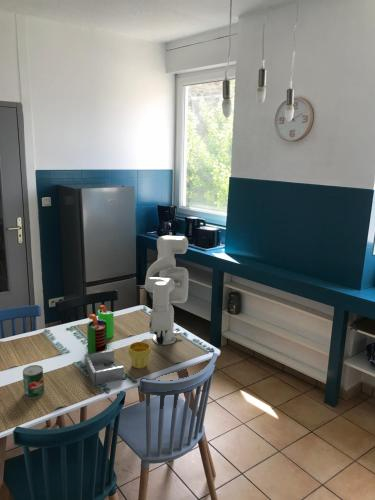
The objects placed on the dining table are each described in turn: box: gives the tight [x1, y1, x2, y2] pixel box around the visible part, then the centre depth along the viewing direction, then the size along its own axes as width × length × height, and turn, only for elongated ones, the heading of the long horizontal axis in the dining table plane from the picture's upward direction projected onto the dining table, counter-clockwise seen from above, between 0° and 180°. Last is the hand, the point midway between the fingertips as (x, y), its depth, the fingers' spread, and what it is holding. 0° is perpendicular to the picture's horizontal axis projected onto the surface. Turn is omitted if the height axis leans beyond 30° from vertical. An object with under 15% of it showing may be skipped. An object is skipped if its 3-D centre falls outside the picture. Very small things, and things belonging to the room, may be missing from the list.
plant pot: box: [128, 341, 152, 369], centre depth 193 cm, size 10×10×10 cm
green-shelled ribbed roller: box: [97, 304, 115, 339], centre depth 221 cm, size 9×8×18 cm
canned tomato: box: [22, 364, 45, 400], centre depth 168 cm, size 8×8×11 cm
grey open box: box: [84, 349, 125, 386], centre depth 186 cm, size 14×17×6 cm
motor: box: [86, 313, 108, 354], centre depth 203 cm, size 10×9×20 cm
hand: (160, 343), depth 195 cm, fingers closed
